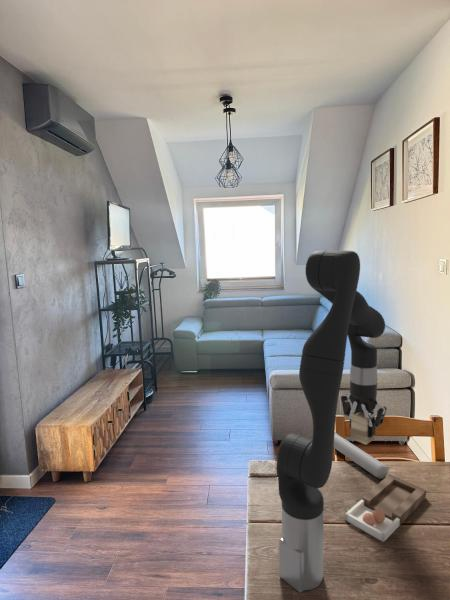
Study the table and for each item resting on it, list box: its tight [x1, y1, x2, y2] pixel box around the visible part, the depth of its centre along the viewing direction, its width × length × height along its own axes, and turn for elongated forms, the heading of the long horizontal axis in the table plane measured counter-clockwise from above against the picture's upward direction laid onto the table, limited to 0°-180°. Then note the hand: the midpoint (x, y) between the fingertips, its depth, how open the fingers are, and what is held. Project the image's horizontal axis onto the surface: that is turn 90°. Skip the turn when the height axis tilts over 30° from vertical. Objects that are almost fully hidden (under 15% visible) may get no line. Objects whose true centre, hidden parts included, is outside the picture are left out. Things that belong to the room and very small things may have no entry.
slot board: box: [361, 473, 427, 526], centre depth 115 cm, size 16×11×2 cm
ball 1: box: [363, 513, 375, 526], centre depth 106 cm, size 3×3×3 cm
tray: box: [344, 499, 401, 543], centre depth 107 cm, size 8×11×2 cm
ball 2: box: [372, 509, 385, 523], centre depth 107 cm, size 3×3×3 cm
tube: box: [334, 431, 389, 480], centre depth 136 cm, size 5×5×25 cm
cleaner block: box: [350, 412, 375, 445], centre depth 120 cm, size 4×5×8 cm
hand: (362, 433), depth 120 cm, fingers closed on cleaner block, 5 cm apart
